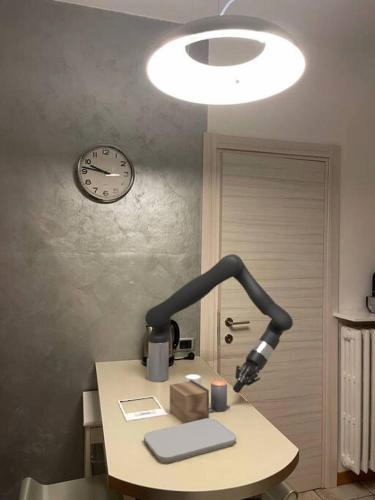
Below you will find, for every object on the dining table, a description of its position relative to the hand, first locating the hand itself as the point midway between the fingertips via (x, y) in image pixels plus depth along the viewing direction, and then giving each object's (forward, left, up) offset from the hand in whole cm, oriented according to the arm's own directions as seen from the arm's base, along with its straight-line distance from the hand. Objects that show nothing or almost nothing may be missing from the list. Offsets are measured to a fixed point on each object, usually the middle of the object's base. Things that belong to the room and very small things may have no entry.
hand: (235, 391), depth 142 cm
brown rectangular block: (-10, -10, -5) cm, 15 cm away
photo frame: (-33, -13, -6) cm, 36 cm away
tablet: (-9, -31, -6) cm, 33 cm away
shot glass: (-18, +7, -5) cm, 20 cm away
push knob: (-5, -5, -5) cm, 9 cm away
